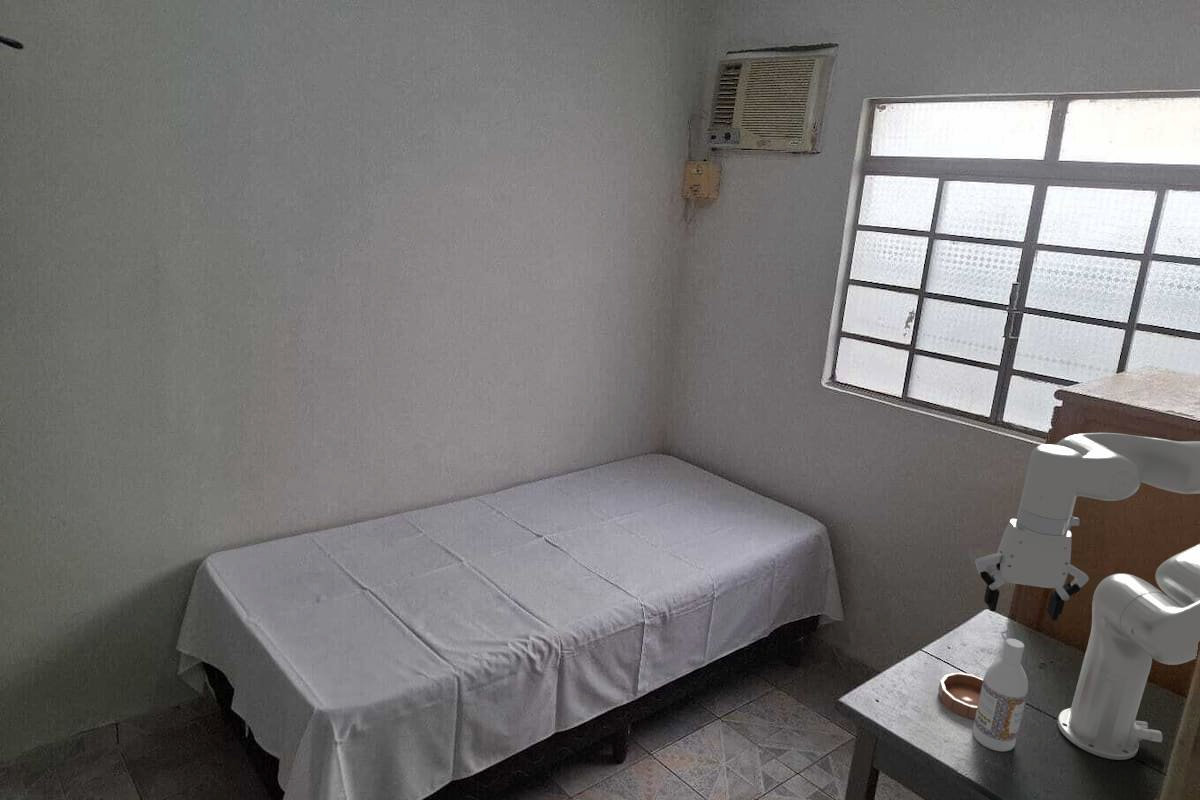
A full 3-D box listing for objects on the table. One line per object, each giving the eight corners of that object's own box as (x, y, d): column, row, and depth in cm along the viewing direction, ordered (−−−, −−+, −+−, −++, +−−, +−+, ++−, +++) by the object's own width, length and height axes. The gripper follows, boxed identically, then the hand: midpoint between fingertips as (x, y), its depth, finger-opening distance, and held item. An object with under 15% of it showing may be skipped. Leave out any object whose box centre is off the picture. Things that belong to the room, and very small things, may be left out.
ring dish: (991, 689, 156) (993, 677, 155) (1005, 724, 146) (1008, 713, 145) (934, 679, 158) (936, 668, 157) (944, 714, 148) (947, 703, 147)
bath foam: (1000, 758, 138) (1023, 659, 132) (963, 734, 143) (984, 638, 137) (1022, 744, 141) (1046, 647, 135) (986, 721, 147) (1007, 627, 141)
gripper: (1092, 517, 131) (1068, 608, 136) (980, 503, 134) (961, 592, 140) (1110, 537, 124) (1084, 632, 129) (992, 522, 127) (971, 615, 133)
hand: (1020, 611), depth 134 cm, fingers open, 9 cm apart
